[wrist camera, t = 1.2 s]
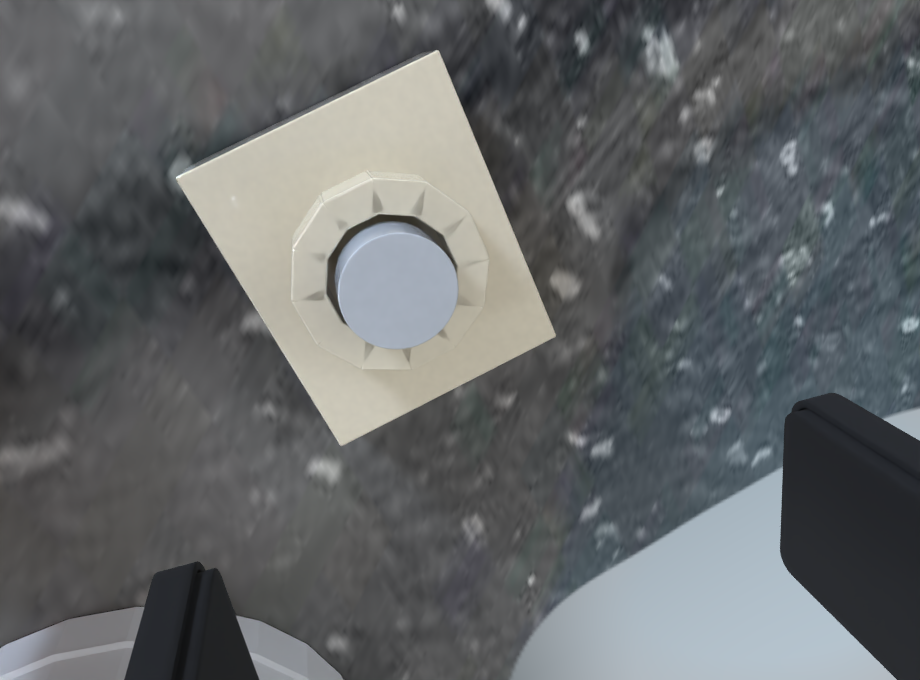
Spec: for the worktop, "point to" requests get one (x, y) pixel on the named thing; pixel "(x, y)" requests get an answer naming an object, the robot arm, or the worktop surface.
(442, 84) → the button base
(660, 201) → the worktop surface
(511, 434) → the worktop surface
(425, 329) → the pale blue cylinder
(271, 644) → the dish
